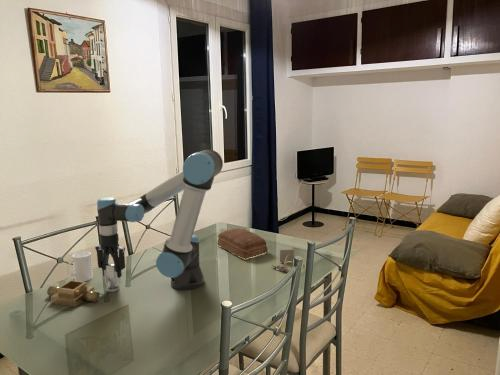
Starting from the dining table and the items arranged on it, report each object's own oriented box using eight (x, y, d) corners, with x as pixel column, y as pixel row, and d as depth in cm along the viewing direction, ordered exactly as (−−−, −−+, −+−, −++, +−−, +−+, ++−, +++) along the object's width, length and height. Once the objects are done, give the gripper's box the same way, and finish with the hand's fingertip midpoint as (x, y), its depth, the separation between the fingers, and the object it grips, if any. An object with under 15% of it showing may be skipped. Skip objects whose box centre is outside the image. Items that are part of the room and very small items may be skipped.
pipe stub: (122, 287, 173) (120, 262, 171) (115, 293, 168) (113, 267, 166) (111, 286, 174) (109, 261, 172) (104, 291, 169) (102, 266, 167)
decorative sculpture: (288, 274, 187) (288, 260, 185) (268, 271, 190) (268, 257, 188) (294, 262, 202) (295, 248, 200) (276, 259, 205) (277, 246, 203)
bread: (239, 240, 235) (239, 222, 233) (269, 254, 212) (269, 235, 210) (215, 246, 226) (215, 227, 223) (244, 262, 202) (244, 241, 200)
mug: (72, 285, 175) (69, 261, 173) (64, 280, 181) (61, 256, 178) (96, 277, 184) (94, 253, 181) (88, 272, 189) (86, 249, 187)
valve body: (105, 294, 166) (104, 282, 165) (87, 308, 155) (86, 294, 154) (61, 288, 172) (59, 276, 171) (40, 301, 161) (38, 288, 160)
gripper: (131, 232, 167) (135, 281, 172) (96, 229, 172) (101, 277, 176) (122, 237, 160) (125, 289, 165) (85, 234, 165) (90, 284, 169)
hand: (113, 283), depth 170 cm, fingers closed on pipe stub, 5 cm apart
